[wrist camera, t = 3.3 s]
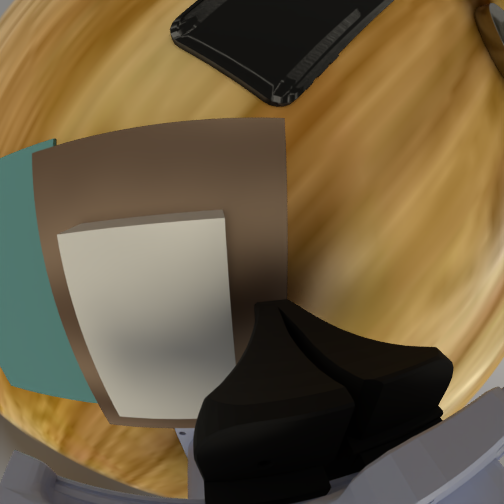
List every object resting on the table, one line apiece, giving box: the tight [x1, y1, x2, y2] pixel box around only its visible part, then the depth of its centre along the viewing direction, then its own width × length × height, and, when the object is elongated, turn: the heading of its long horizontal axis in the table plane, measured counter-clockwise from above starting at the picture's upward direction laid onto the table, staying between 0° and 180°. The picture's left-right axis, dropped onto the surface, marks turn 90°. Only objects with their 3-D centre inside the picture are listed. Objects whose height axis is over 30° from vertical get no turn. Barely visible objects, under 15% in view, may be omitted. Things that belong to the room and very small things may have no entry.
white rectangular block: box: [57, 210, 236, 419], centre depth 10 cm, size 9×6×2 cm, turn 2°
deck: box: [32, 118, 288, 428], centre depth 13 cm, size 16×11×3 cm
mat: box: [0, 139, 98, 403], centre depth 12 cm, size 18×12×1 cm, turn 2°
